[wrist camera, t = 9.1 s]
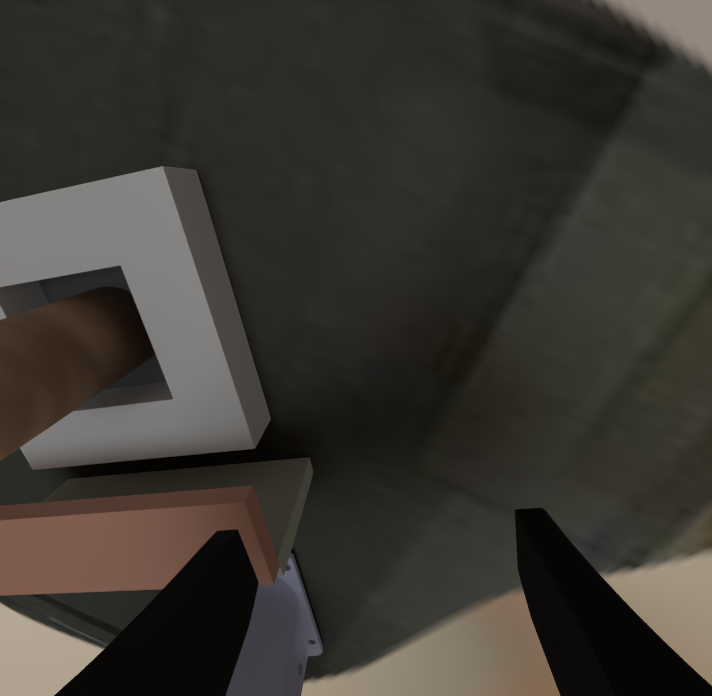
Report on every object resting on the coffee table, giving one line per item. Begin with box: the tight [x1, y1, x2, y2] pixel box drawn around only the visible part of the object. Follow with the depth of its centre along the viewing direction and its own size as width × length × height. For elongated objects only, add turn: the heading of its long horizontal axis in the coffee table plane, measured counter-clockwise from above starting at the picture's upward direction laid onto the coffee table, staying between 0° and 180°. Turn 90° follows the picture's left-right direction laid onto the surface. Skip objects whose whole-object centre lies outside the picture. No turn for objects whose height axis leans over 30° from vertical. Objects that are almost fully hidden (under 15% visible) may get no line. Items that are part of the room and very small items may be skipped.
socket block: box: [0, 166, 271, 470], centre depth 18 cm, size 12×12×2 cm
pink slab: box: [0, 457, 314, 595], centre depth 18 cm, size 5×15×7 cm, turn 100°
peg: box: [0, 286, 155, 461], centre depth 15 cm, size 4×4×8 cm
